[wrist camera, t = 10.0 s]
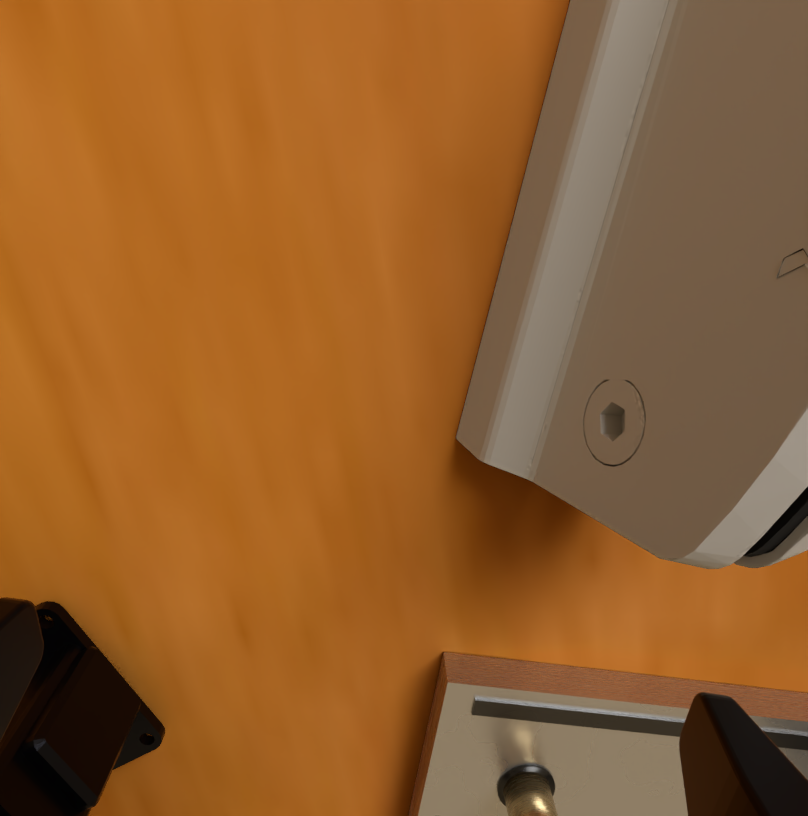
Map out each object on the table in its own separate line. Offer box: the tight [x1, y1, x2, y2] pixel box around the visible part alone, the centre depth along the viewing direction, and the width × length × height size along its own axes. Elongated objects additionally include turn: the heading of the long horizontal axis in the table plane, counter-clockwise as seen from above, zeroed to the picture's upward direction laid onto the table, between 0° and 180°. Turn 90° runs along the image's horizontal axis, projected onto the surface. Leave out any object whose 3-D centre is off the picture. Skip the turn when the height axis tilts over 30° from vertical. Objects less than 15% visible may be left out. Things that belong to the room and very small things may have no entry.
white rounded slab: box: [456, 0, 808, 569], centre depth 16 cm, size 17×5×10 cm, turn 168°
